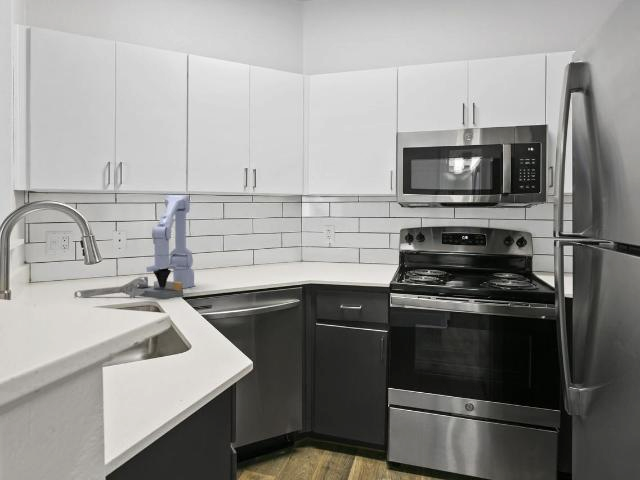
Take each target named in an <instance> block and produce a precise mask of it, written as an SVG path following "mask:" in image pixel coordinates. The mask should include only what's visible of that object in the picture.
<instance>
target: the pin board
mask: <svg viewBox="0 0 640 480" xmlns="http://www.w3.org/2000/svg"><path fill="white" fill-rule="evenodd" d="M137 288H138V285H137ZM138 290H143V291H145V292H144V293H143V294H141V295H139V296H141V297H144V298H145V297H146V298H155V299H162V300H168V299H173V298H177V297H181V296H184V289H182V290H180V291H177V290H171V289H154V285H148V288H145V289H138Z"/></svg>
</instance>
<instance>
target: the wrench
mask: <svg viewBox="0 0 640 480" xmlns="http://www.w3.org/2000/svg"><path fill="white" fill-rule="evenodd" d="M139 283H141V284H145V285H146V284H147V282H146V281H145V280H144V279H142V278H138V277H136V278H134V279H133V280H130V282H127V283H126V284H123V285H120V286H119V285H118V286H109V287H99V288H90V289H81V290H76V291H75V292H74V297H75V298H76V297H83V298H90V297H98V296H105V295H115V294H120V293H121V294H126V295H128V296H129V298H132V299H134V298H135V297H138V296H139V295H141V294H143V293H144V292H145V291H143V290H138V288H137V286H138V284H139ZM78 293H80V296H79V295H78Z"/></svg>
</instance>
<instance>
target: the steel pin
mask: <svg viewBox="0 0 640 480" xmlns="http://www.w3.org/2000/svg"><path fill="white" fill-rule="evenodd" d="M137 278H142V279H144V280H145V281H146V282H147V284H146V285H145V284H141V283H139V284H138V285H137V286H138V289H145V288H148V286H149V277H148V276H139V277H137Z"/></svg>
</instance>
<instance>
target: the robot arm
mask: <svg viewBox="0 0 640 480" xmlns="http://www.w3.org/2000/svg"><path fill="white" fill-rule="evenodd" d="M190 202H191V201H190V198H189V196H188V194H167V195H166V196H165V198H164V206H165V211H164V214H161V216H160V217H159V219H158V220H159V221H158V223H157V224H156V226H155V227H152V230H151V237H152V242H153V243H152V244H153V245H154V264H153V265H150V266H146V273H152V272H153V274H154V276H155V277H156V281H158V283H159V287H165V286H166V282H167V281H168V278H169V276H170V274H171V270H173V273H172V275H173V279H172V280H173V281H172V282H182V290H184V289H188V288H193V287H196V284H195V271H194V270H193V268H192V267H193V264H194V258H193V253H192V251H191V250H190V249H188V248H187V225H186V224H187V222H186V221H187V220H186V218H187V214H188V213H190V209H191V208H190V206H191V203H190ZM174 217H175V219H174ZM174 223H175V225H174ZM173 225H174V226H175V228H174V229H175V230H174V231H175V234H174V235H175V236H174V239H175V248H174V249H173V250H171V251H170V240H171V236H172V228H173Z"/></svg>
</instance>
